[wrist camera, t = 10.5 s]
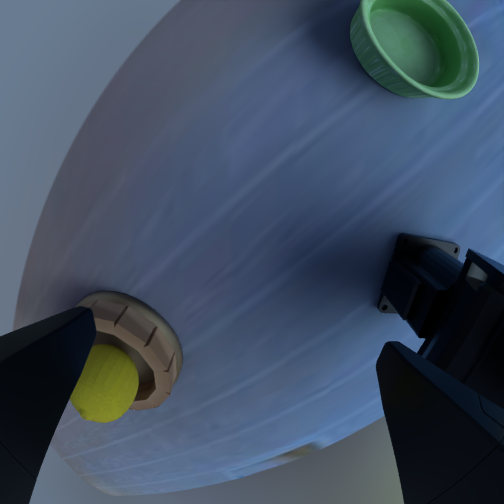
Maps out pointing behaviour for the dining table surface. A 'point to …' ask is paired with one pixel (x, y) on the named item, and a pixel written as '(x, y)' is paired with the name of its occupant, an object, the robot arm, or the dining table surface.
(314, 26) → the dining table surface
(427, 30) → the ramekin
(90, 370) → the lemon
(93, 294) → the wooden bowl
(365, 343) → the dining table surface
